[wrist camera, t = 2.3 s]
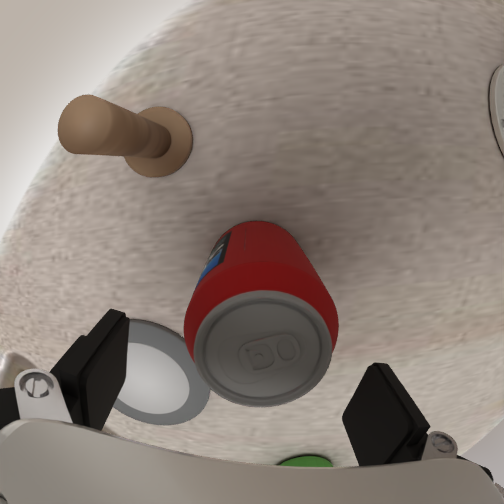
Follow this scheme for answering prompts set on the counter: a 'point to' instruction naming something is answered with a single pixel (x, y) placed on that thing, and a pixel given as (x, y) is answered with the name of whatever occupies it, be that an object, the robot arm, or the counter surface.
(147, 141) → the stand post
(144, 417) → the pad
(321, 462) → the wine bottle
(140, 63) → the counter surface
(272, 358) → the beverage can
